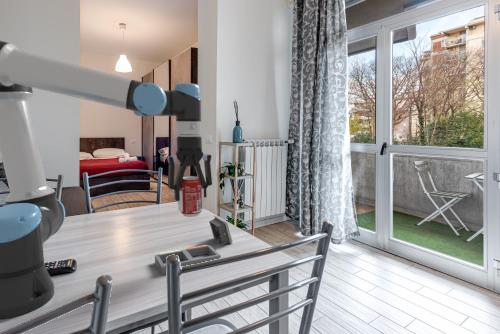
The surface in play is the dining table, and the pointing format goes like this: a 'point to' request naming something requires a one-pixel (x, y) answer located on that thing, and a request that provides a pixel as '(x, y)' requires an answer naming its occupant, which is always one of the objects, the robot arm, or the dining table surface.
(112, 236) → the dining table surface
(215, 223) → the electrical switch
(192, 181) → the beverage can
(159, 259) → the socket board
